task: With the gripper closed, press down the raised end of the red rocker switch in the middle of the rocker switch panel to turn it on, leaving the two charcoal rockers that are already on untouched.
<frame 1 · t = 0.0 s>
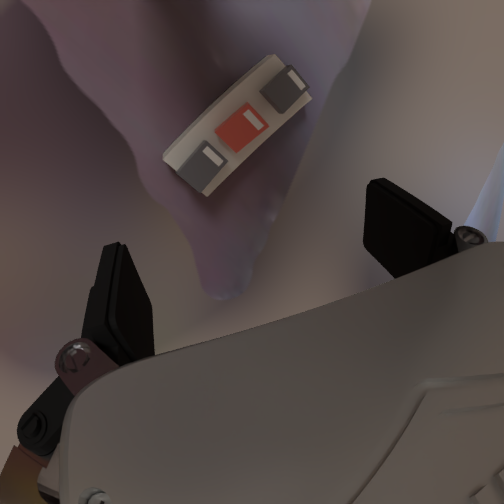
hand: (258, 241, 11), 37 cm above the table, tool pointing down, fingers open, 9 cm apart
red rocker: (241, 127, 39), point 5 cm above the table, hinge at -12.0°
rocker switch panel: (234, 121, 44), on the table
charcoal rocker 1: (202, 166, 41), point 5 cm above the table, hinge at 12.0°
charcoal rocker 2: (285, 88, 38), point 5 cm above the table, hinge at 12.0°
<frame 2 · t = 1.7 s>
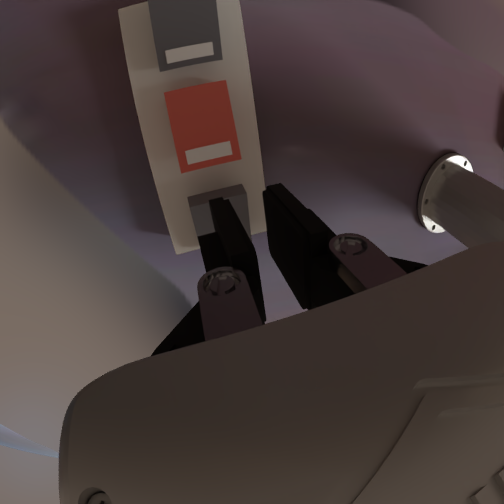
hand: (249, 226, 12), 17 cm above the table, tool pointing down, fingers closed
red rocker: (202, 125, 20), point 5 cm above the table, hinge at -12.0°
rocker switch panel: (195, 118, 25), on the table
charcoal rocker 1: (184, 26, 16), point 5 cm above the table, hinge at 12.0°
charcoal rocker 2: (221, 224, 25), point 5 cm above the table, hinge at 12.0°
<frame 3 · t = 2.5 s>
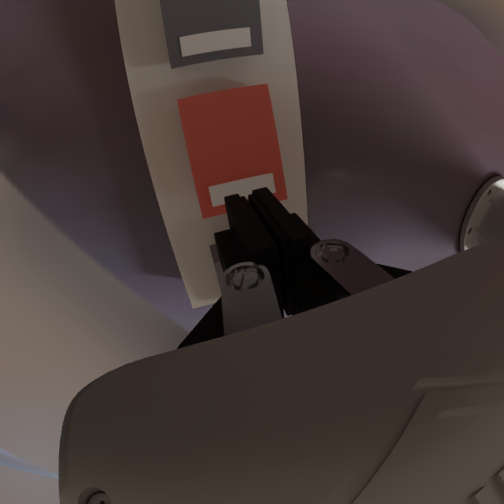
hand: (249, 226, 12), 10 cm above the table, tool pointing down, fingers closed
red rocker: (232, 149, 15), point 5 cm above the table, hinge at -12.0°
rocker switch panel: (217, 133, 19), on the table
charcoal rocker 1: (209, 3, 10), point 5 cm above the table, hinge at 12.0°
charcoal rocker 2: (253, 278, 19), point 5 cm above the table, hinge at 12.0°
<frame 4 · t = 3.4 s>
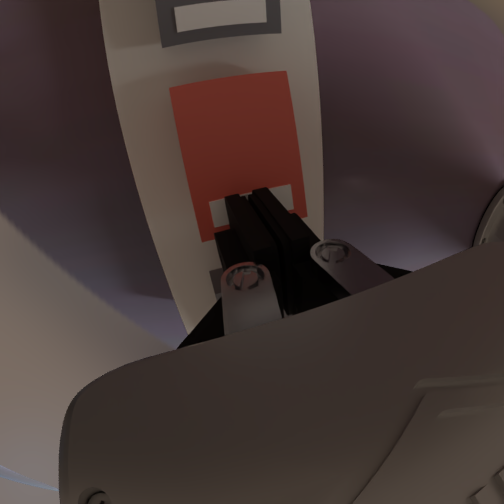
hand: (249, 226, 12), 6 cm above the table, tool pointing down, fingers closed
red rocker: (239, 152, 11), point 5 cm above the table, hinge at -10.8°, touching gripper
rocker switch panel: (217, 132, 16), on the table
charcoal rocker 2: (261, 306, 16), point 5 cm above the table, hinge at 12.0°
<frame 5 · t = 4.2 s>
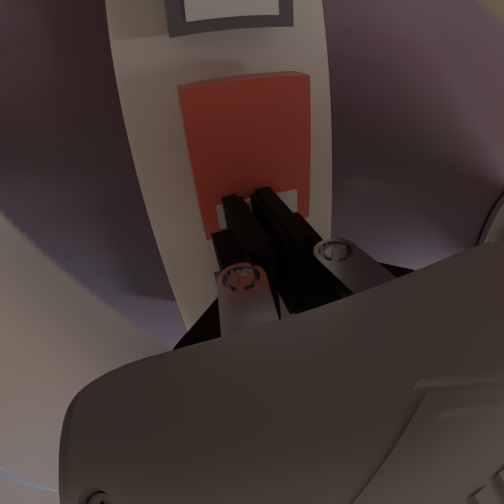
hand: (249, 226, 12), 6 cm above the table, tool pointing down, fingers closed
red rocker: (249, 154, 11), point 5 cm above the table, hinge at 6.3°, touching gripper
rocker switch panel: (223, 129, 15), on the table
charcoal rocker 2: (266, 309, 16), point 5 cm above the table, hinge at 12.0°
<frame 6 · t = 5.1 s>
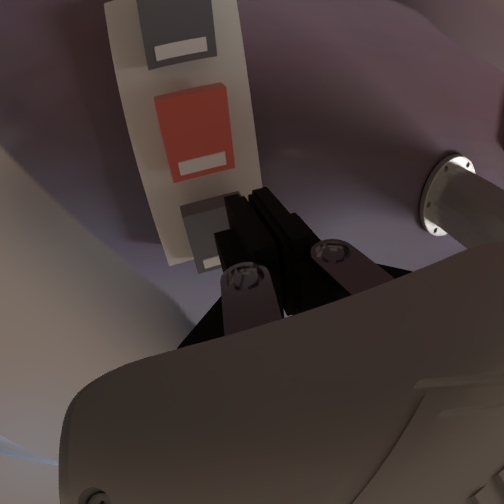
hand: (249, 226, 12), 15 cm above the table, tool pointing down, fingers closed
red rocker: (196, 133, 19), point 5 cm above the table, hinge at 11.8°
rocker switch panel: (187, 120, 23), on the table
charcoal rocker 1: (175, 19, 14), point 5 cm above the table, hinge at 12.0°
charcoal rocker 2: (217, 234, 23), point 5 cm above the table, hinge at 12.0°
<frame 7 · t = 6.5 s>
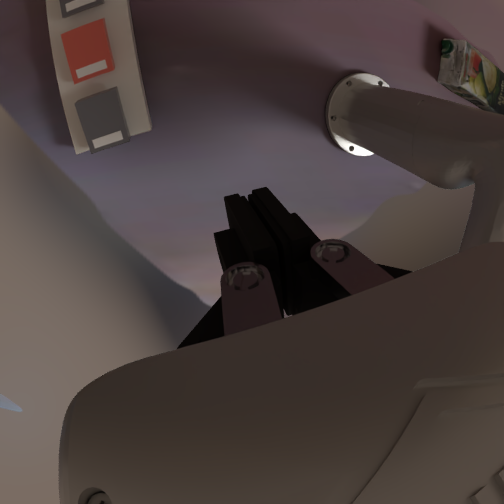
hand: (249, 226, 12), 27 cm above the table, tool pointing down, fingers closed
juice carton: (466, 76, 39), on the table
red rocker: (88, 50, 21), point 5 cm above the table, hinge at 16.4°
rocker switch panel: (98, 52, 26), on the table
charcoal rocker 2: (103, 120, 26), point 5 cm above the table, hinge at 12.0°
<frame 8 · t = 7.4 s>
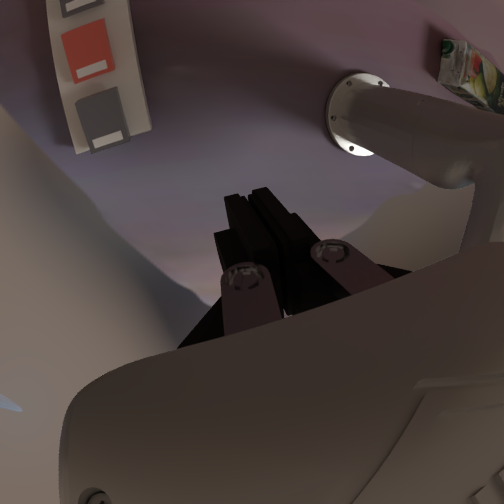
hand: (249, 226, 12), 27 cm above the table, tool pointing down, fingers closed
juice carton: (466, 77, 39), on the table
red rocker: (88, 50, 21), point 5 cm above the table, hinge at 18.1°
rocker switch panel: (98, 52, 26), on the table
charcoal rocker 2: (103, 120, 26), point 5 cm above the table, hinge at 12.0°
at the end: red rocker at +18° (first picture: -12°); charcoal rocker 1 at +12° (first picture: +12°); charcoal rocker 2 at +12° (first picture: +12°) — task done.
